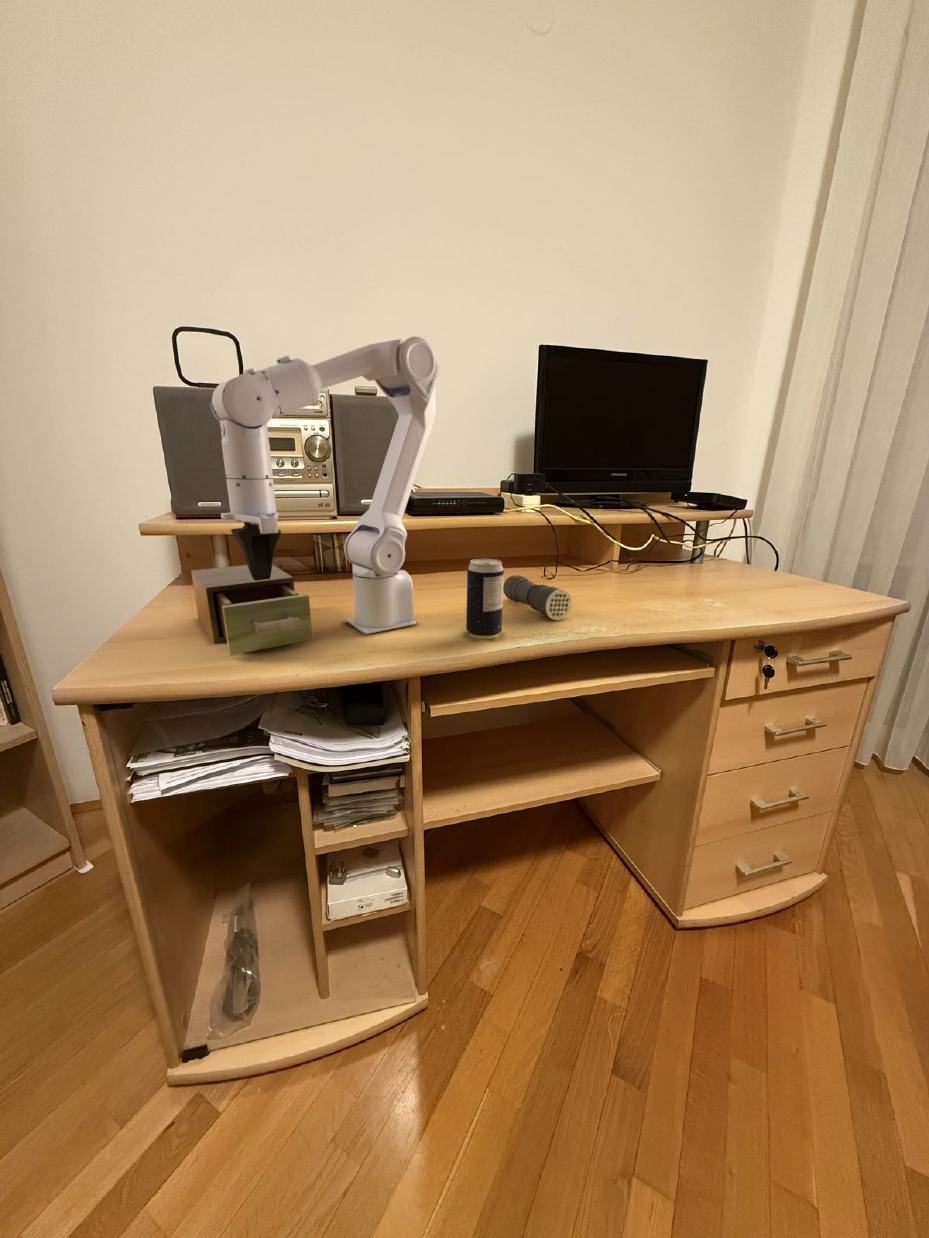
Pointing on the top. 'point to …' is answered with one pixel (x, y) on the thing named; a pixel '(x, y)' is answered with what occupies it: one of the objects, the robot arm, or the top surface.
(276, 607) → the drawer
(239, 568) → the cabinet
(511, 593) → the flashlight
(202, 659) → the top surface
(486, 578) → the beverage can
